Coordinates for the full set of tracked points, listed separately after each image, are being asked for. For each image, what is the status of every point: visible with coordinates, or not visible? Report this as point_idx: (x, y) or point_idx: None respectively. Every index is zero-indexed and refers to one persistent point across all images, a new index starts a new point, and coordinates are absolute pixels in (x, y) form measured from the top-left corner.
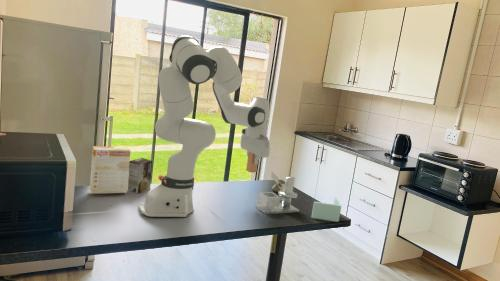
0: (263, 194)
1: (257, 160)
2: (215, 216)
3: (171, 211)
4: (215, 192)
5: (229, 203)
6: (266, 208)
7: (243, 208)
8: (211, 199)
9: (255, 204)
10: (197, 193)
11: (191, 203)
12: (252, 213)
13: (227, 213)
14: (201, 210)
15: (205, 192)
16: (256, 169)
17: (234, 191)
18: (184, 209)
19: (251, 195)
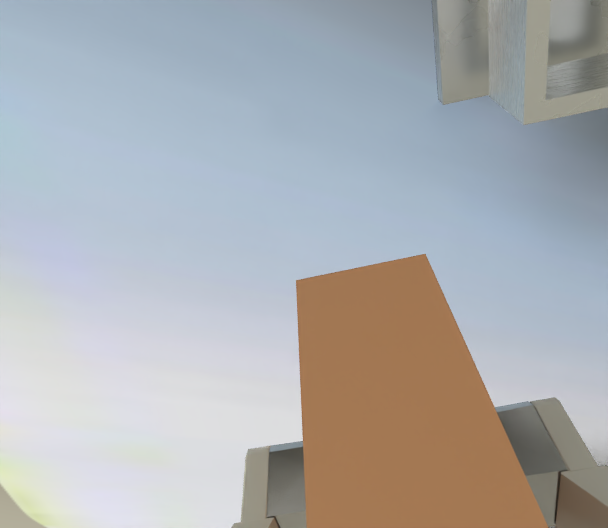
0: (590, 96)
1: (603, 481)
2: (568, 385)
3: None
4: (125, 320)
5: None
6: (569, 20)
7: (473, 207)
8: (289, 364)
9: (451, 100)
10: (183, 415)
11: None
12: (586, 169)
13: (542, 324)
14: None
15: (147, 375)
16: (439, 288)
17: (36, 170)
18: None
19: (112, 20)
